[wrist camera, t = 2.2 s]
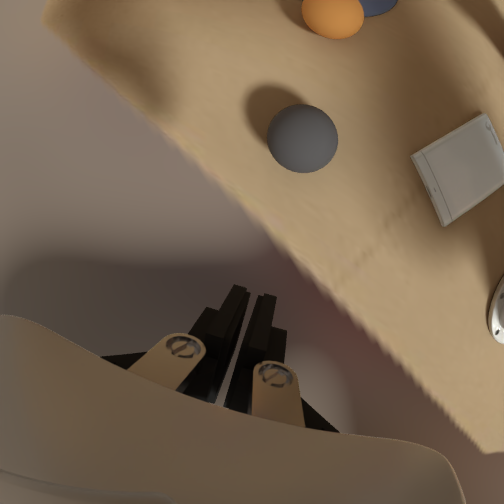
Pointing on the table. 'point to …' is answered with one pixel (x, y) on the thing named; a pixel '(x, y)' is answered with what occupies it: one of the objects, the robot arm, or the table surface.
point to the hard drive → (461, 168)
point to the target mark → (376, 6)
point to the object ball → (333, 17)
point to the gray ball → (302, 138)
